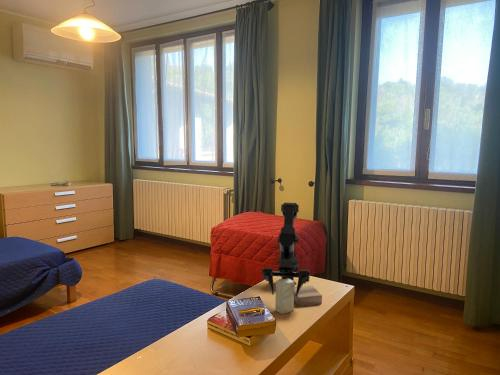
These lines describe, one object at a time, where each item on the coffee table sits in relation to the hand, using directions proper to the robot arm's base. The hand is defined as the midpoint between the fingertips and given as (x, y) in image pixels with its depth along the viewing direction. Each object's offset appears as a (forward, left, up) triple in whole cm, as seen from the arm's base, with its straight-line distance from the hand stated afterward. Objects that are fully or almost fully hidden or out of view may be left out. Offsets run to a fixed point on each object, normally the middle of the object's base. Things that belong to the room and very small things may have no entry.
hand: (284, 295), depth 147 cm
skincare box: (-1, 0, -7) cm, 7 cm away
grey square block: (-8, +12, -7) cm, 17 cm away
